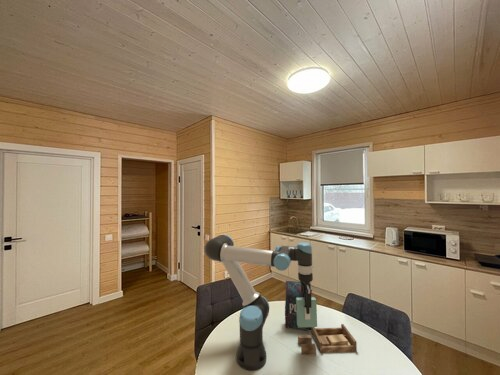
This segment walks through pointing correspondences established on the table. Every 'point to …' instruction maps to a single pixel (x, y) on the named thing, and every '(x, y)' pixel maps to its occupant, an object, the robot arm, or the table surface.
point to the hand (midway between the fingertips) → (306, 316)
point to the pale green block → (301, 313)
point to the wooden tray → (334, 331)
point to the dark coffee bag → (292, 304)
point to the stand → (306, 345)
